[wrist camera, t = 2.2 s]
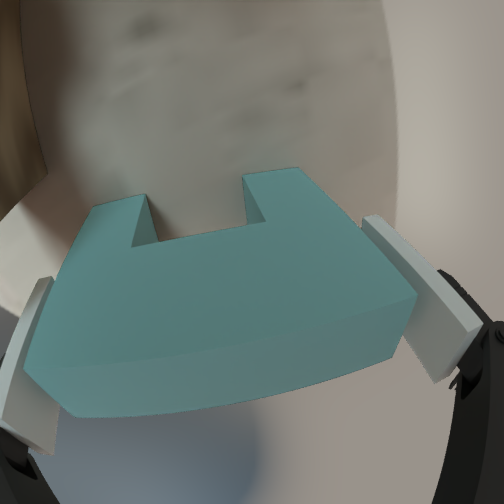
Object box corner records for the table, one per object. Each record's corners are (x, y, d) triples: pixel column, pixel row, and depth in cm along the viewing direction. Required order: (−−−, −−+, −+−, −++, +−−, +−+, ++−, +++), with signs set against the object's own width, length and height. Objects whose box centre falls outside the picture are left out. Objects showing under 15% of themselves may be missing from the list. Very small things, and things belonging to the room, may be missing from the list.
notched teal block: (110, 252, 15) (75, 417, 7) (92, 206, 14) (22, 368, 6) (299, 216, 17) (391, 357, 9) (298, 167, 15) (418, 294, 7)
